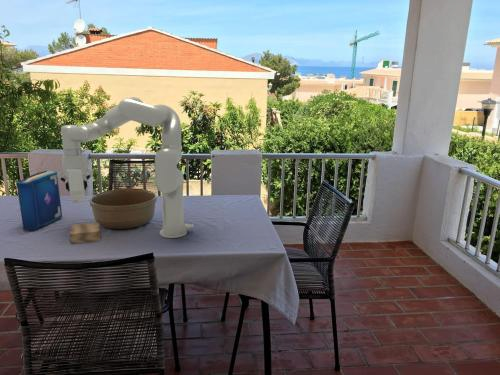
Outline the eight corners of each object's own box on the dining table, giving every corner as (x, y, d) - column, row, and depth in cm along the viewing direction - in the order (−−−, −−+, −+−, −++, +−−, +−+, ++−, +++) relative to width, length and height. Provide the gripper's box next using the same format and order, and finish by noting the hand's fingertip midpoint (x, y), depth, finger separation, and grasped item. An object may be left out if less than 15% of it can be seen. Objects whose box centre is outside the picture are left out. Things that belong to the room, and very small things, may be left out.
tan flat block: (99, 232, 194) (98, 222, 192) (100, 241, 183) (99, 231, 182) (72, 235, 190) (71, 225, 188) (70, 244, 179) (69, 234, 178)
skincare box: (85, 202, 190) (82, 169, 186) (70, 203, 188) (66, 170, 184) (85, 197, 198) (82, 165, 194) (70, 198, 196) (66, 167, 192)
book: (33, 232, 190) (27, 180, 184) (20, 231, 192) (13, 179, 185) (63, 218, 211) (58, 170, 205) (51, 216, 212) (45, 169, 206)
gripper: (92, 149, 194) (95, 186, 199) (51, 152, 187) (56, 190, 191) (93, 152, 187) (97, 189, 192) (51, 155, 180) (56, 194, 185)
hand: (77, 189), depth 192 cm, fingers closed on skincare box, 6 cm apart
